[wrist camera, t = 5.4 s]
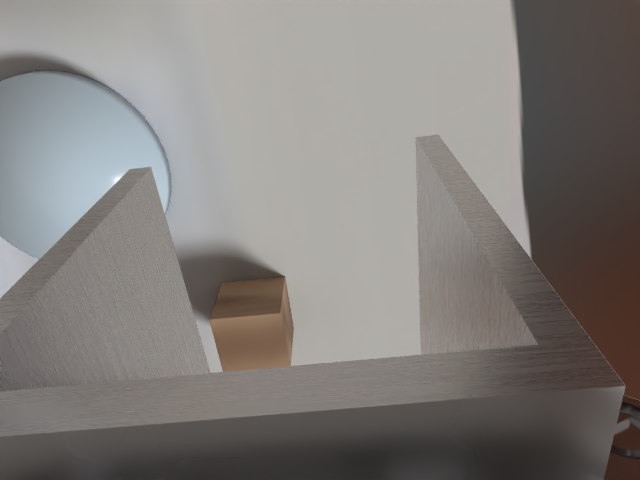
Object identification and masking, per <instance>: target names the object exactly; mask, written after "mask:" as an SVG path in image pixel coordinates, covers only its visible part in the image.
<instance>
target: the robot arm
mask: <svg viewBox="0 0 640 480" xmlns="http://www.w3.org/2000/svg"><path fill="white" fill-rule="evenodd" d="M604 480H640V401H639V400H637V399H633V398H630V397H627V396H624V395H623V399H622V403H621V407H620V412H619V416H618V420H617V425H616V429H615V433H614V437H613V442H612V446H611V450H610V455H609V459H608V463H607V467H606V472H605V476H604Z"/></svg>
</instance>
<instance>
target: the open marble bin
mask: <svg viewBox="0 0 640 480" xmlns="http://www.w3.org/2000/svg"><path fill="white" fill-rule="evenodd" d="M416 174H417V214H418V254H419V294H420V334H421V355H414V356H403V357H391V358H379V359H368V360H356V361H345V362H333V363H322V364H310V365H299V366H287V367H276V368H264V369H253V370H241V371H230V372H218V373H210V370H209V366H208V363H207V359H206V356H205V352H204V349H203V345H202V342H201V338H200V335H199V331H198V328H197V325H196V321H195V318H194V314H193V311H192V307H191V304H190V300H189V297H188V293H187V290H186V286H185V283H184V279H183V276H182V272H181V269H180V265H179V262H178V259H177V255H176V252H175V248H174V245H173V241H172V238H171V234H170V231H169V227H168V224H167V220H166V217H165V213H164V210H163V206H162V203H161V199H160V196H159V193H158V189H157V186H156V182H155V179H154V175H153V172H152V168H151V167H144V168H135V169H129V170H128V171H127V172H126V173H125V174H124V175H123V176H122V177H121V178H120V179H119V180H118V181H117V182H116V183H115V184H114V185H113V186H112V187H111V188H110V189H109V190H108V191H107V192H106V193H105V194H104V195H103V196H102V197H101V198H100V199H99V200H98V201H97V202H96V203H95V204H94V205H93V206H92V207H91V208H90V209H89V210H88V211H87V212H86V213H85V214H84V215H83V216H82V217H81V218H80V219H79V220H78V221H77V222H76V223H75V224H74V225H73V226H72V227H71V228H70V229H69V230H68V231H67V232H66V233H65V234H64V235H63V236H62V237H61V238H60V239H59V240H58V241H57V242H56V243H55V244H54V245H53V246H52V247H51V248H50V249H49V250H48V251H47V252H46V253H45V254H44V255H43V256H42V257H41V258H40V259H39V260H38V261H37V262H36V263H35V264H34V265H33V266H32V267H31V268H30V269H29V270H28V271H27V272H26V273H25V274H24V275H23V276H22V277H21V278H20V279H19V280H18V281H17V282H16V283H15V284H14V285H13V286H12V287H11V288H10V289H9V290H8V291H7V292H6V293H5V294H4V295H3V296H2V297H1V298H0V480H604V476H605V472H606V467H607V463H608V459H609V455H610V450H611V446H612V442H613V437H614V433H615V429H616V425H617V420H618V416H619V412H620V407H621V403H622V399H623V394H624V390H625V385H624V383H623V382H622V380H621V379H620V378H619V376H618V375H617V374H616V372H615V371H614V370H613V369H612V367H611V366H610V364H609V363H608V362H607V360H606V359H605V358H604V356H603V355H602V354H601V352H600V351H599V350H598V348H597V347H596V346H595V344H594V343H593V342H592V340H591V339H590V338H589V336H588V335H587V334H586V332H585V331H584V330H583V328H582V327H581V326H580V324H579V323H578V322H577V320H576V319H575V317H574V316H573V315H572V313H571V312H570V311H569V309H568V308H567V307H566V305H565V304H564V303H563V301H562V300H561V299H560V297H559V296H558V295H557V293H556V292H555V291H554V289H553V288H552V287H551V285H550V284H549V283H548V281H547V280H546V279H545V277H544V276H543V275H542V273H541V272H540V271H539V269H538V268H537V267H536V265H535V264H534V262H533V261H532V260H531V258H530V257H529V256H528V254H527V253H526V252H525V250H524V249H523V248H522V246H521V245H520V244H519V242H518V241H517V240H516V238H515V237H514V236H513V234H512V233H511V232H510V230H509V229H508V228H507V226H506V225H505V224H504V222H503V221H502V220H501V218H500V217H499V216H498V214H497V213H496V211H495V210H494V209H493V207H492V206H491V205H490V203H489V202H488V201H487V199H486V198H485V197H484V195H483V194H482V193H481V191H480V190H479V189H478V187H477V186H476V185H475V183H474V182H473V181H472V179H471V178H470V177H469V175H468V174H467V173H466V171H465V170H464V169H463V167H462V166H461V165H460V163H459V162H458V161H457V159H456V158H455V157H454V155H453V154H452V153H451V151H450V150H449V148H448V147H447V146H446V144H445V143H444V142H443V140H442V139H441V138H440V136H439V135H433V136H424V137H416Z"/></svg>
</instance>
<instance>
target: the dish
mask: <svg viewBox="0 0 640 480" xmlns="http://www.w3.org/2000/svg"><path fill="white" fill-rule="evenodd" d="M144 167H151V168H152V172H153V175H154V179H155V182H156V186H157V189H158V193H159V196H160V199H161V203H162V206H163V210H164V213H165V215H166V212H167V210H168V206H169V202H170V196H171V174H170V169H169V163H168V160H167V157H166V154H165V151H164V149H163V147H162V144H161V142H160V140H159V138H158V137H157V135H156V133H155V132H154V130H153V128H152V127H151V125H150V124H149V123H148V122H147V120H146V119H145V118H144V117H143V115H142V114H141V113H140V112H139V111H138V110H137V109H136V108H135V107H134V106H133V105H132V104H131V103H129V102H128V101H127V100H126V99H124V98H123V97H122V96H121V95H119V94H118V93H116V92H115V91H113V90H111V89H110V88H108V87H107V86H105V85H102V84H100V83H98V82H96V81H94V80H92V79H89V78H86V77H83V76H80V75H77V74H72V73H68V72H61V71H35V72H30V73H24V74H21V75H17V76H14V77H10V78H8V79H5V80H2V81H0V236H1V237H2V238H4V239H5V240H6V241H7V242H9V243H10V244H12V245H13V246H15V247H16V248H18V249H19V250H21V251H23V252H25V253H27V254H29V255H31V256H32V257H35V258H37V259H40V258H41V257H42V256H43V255H44V254H45V253H46V252H47V251H48V250H49V249H50V248H51V247H52V246H53V245H54V244H55V243H56V242H57V241H58V240H59V239H60V238H61V237H62V236H63V235H64V234H65V233H66V232H67V231H68V230H69V229H70V228H71V227H72V226H73V225H74V224H75V223H76V222H77V221H78V220H79V219H80V218H81V217H82V216H83V215H84V214H85V213H86V212H87V211H88V210H89V209H90V208H91V207H92V206H93V205H94V204H95V203H96V202H97V201H98V200H99V199H100V198H101V197H102V196H103V195H104V194H105V193H106V192H107V191H108V190H109V189H110V188H111V187H112V186H113V185H114V184H115V183H116V182H117V181H118V180H119V179H120V178H121V177H122V176H123V175H124V174H125V173H126V172H127V171H128V170H129V169H135V168H144Z"/></svg>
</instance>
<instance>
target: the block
mask: <svg viewBox="0 0 640 480" xmlns="http://www.w3.org/2000/svg"><path fill="white" fill-rule="evenodd" d="M210 324H211V328H212V331H213V335H214V339H215V343H216V347H217V350H218V354H219V358H220V362H221V366H222V370H223V372H230V371H241V370H253V369H264V368H276V367H287V366H291V354H292V342H293V330H294V327H293V321H292V315H291V309H290V303H289V297H288V292H287V286H286V280H285V276H284V277H274V278H263V279H253V280H243V281H232V282H222V284H221V287H220V290H219V293H218V296H217V299H216V302H215V305H214V308H213V311H212V314H211V317H210Z"/></svg>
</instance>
